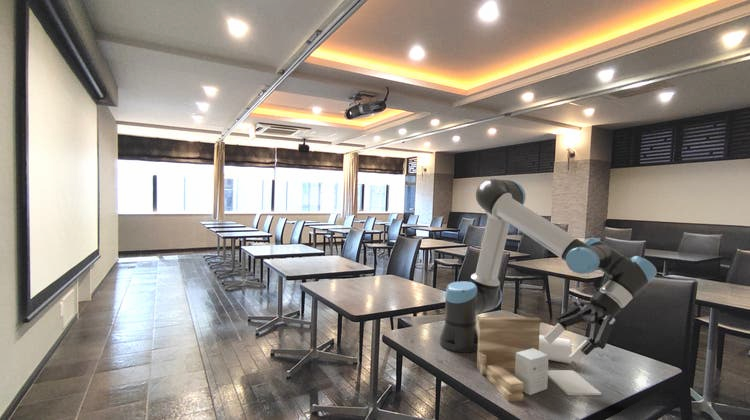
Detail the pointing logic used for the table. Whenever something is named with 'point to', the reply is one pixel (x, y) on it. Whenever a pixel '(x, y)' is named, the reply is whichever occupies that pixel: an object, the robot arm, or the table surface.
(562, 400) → the table surface
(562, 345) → the white rounded block
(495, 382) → the lower pine offcut
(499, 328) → the birch rack
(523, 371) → the small box
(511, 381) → the upper pine offcut
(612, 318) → the robot arm
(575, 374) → the white flat plate
